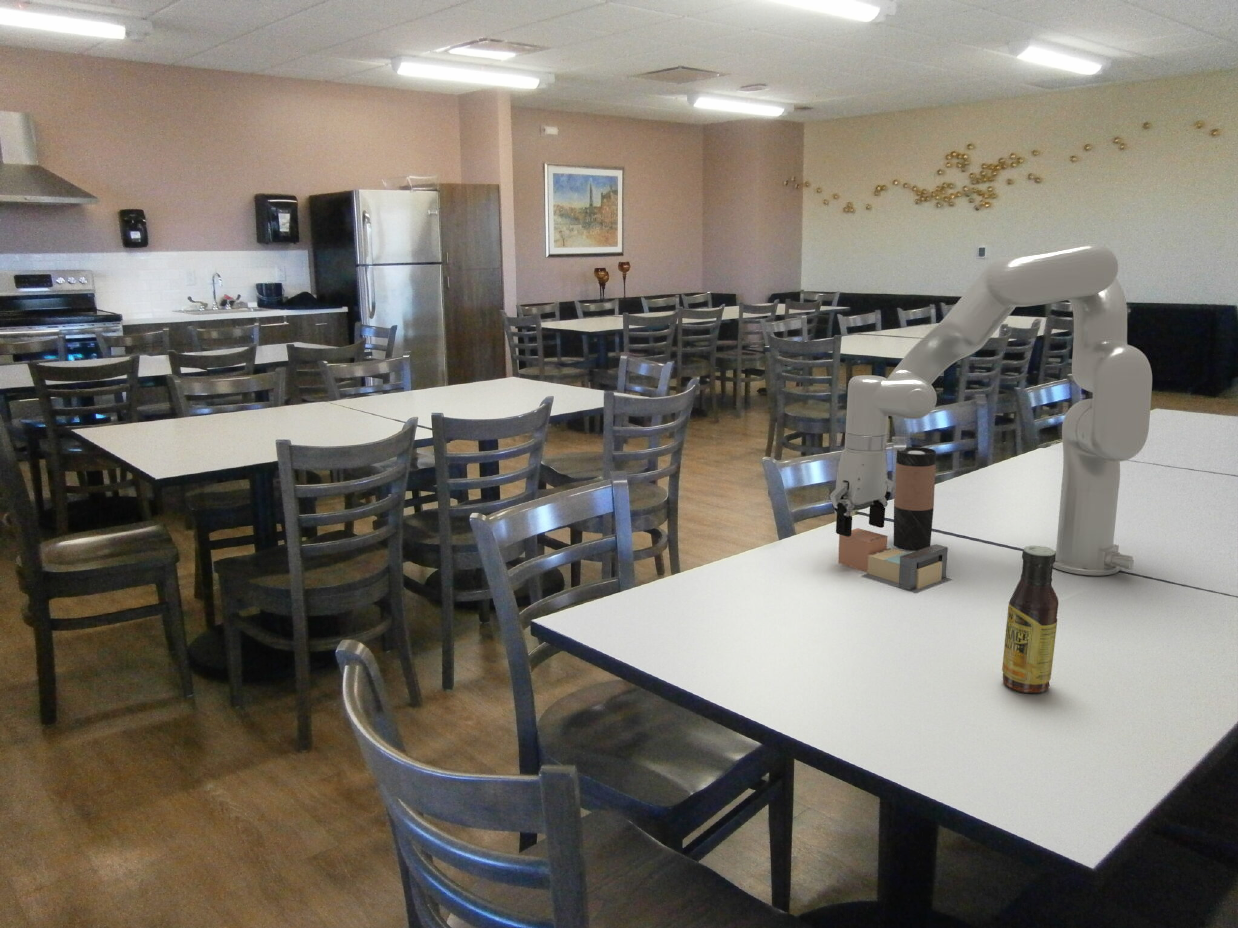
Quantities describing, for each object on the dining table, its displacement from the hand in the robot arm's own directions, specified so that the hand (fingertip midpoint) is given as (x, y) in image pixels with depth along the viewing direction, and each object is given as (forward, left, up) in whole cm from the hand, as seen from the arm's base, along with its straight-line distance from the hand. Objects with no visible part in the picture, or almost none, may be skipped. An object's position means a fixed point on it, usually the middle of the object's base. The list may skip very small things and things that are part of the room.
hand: (860, 530), depth 179 cm
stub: (0, 0, -7) cm, 7 cm away
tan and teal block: (-10, 0, -7) cm, 12 cm away
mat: (-10, 0, -7) cm, 13 cm away
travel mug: (+1, -17, -7) cm, 19 cm away
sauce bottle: (-47, +24, -7) cm, 53 cm away
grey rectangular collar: (-14, 0, -7) cm, 15 cm away
